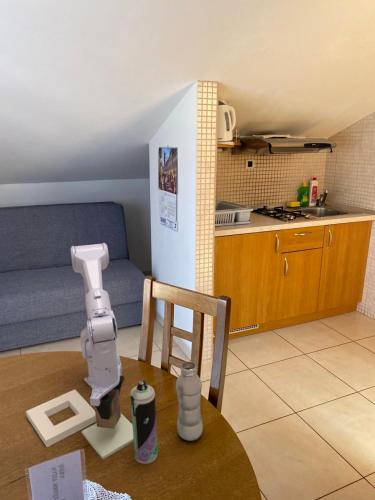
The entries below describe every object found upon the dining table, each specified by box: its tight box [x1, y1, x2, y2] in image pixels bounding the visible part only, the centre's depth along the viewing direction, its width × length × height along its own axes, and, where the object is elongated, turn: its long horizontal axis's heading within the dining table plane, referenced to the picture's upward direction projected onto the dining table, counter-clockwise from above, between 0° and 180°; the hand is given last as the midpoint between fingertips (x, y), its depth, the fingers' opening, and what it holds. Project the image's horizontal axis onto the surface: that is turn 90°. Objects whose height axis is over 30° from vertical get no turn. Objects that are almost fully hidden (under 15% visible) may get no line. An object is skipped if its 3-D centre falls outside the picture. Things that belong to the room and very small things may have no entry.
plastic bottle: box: [175, 361, 204, 442], centre depth 96 cm, size 6×7×20 cm
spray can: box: [129, 380, 159, 465], centre depth 90 cm, size 6×6×20 cm
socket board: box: [25, 389, 96, 448], centre depth 105 cm, size 14×14×2 cm
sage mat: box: [81, 413, 134, 460], centre depth 99 cm, size 11×11×1 cm
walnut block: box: [94, 389, 122, 429], centre depth 97 cm, size 4×4×8 cm
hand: (109, 411), depth 97 cm, fingers closed on walnut block, 4 cm apart
